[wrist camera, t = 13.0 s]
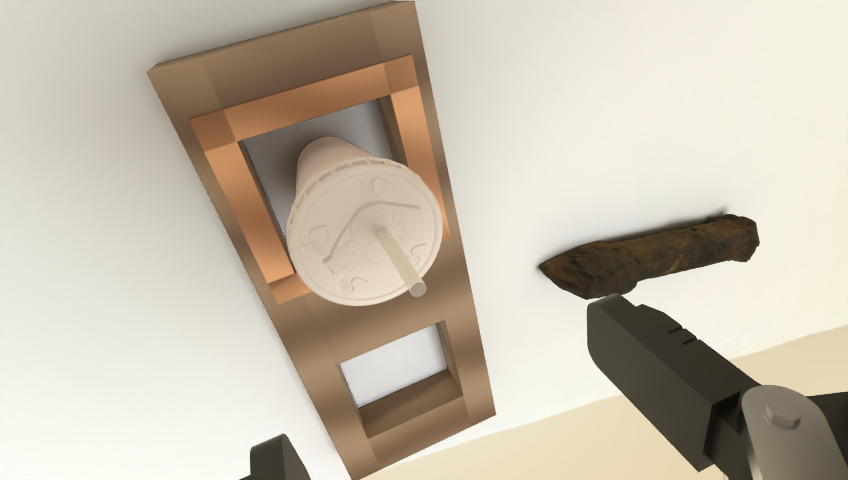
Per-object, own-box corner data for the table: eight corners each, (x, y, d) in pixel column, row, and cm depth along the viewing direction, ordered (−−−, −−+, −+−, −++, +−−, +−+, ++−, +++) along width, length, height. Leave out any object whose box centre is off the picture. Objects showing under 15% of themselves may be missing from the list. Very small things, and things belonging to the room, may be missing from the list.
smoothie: (402, 181, 29) (517, 307, 17) (314, 239, 28) (370, 407, 17) (347, 88, 25) (445, 165, 13) (246, 152, 25) (256, 288, 13)
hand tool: (726, 206, 41) (778, 228, 37) (712, 247, 42) (760, 272, 39) (540, 231, 35) (578, 260, 31) (532, 278, 36) (568, 310, 33)
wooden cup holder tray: (156, 64, 22) (145, 73, 19) (395, 0, 24) (415, 0, 21) (345, 450, 37) (353, 484, 34) (479, 388, 39) (497, 416, 37)
